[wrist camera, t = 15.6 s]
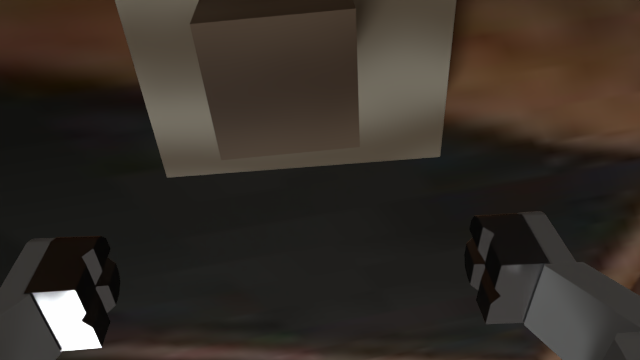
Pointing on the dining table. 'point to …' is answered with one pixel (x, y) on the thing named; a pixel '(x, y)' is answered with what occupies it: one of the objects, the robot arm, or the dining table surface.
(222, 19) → the walnut block
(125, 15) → the ash platform
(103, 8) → the dining table surface
